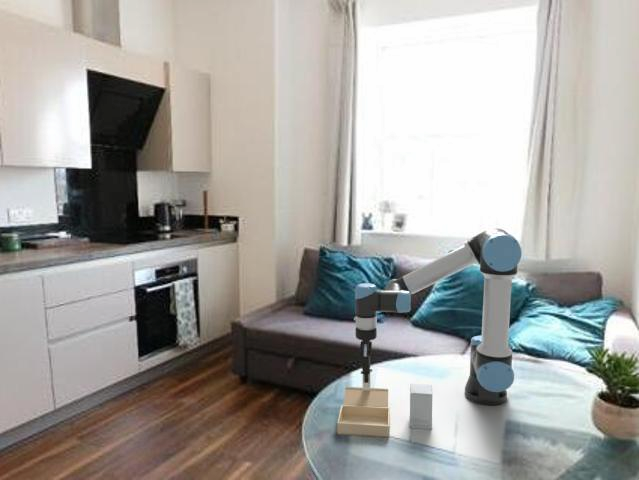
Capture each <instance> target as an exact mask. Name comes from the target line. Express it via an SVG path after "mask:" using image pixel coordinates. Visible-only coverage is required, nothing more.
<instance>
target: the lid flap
mask: <svg viewBox="0 0 639 480" xmlns="http://www.w3.org/2000/svg"><path fill="white" fill-rule="evenodd" d="M343 405H352V406H371V407H389V388H377V387H376V388H374V387H370V391H366V390H363V387H359V386H357V387H356V386H355V387H354V386H345V389H344V398H343Z"/></svg>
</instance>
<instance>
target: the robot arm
mask: <svg viewBox="0 0 639 480" xmlns="http://www.w3.org/2000/svg"><path fill="white" fill-rule="evenodd" d="M521 258H522V247H521V245H520V243H519V241H518V240H517V239H516V237H515V236H513V235H512V234H509V233H508V232H507V231H506V230H504V229H501V228H497V227H496V228H488V229H486V230H484V231H482V232H480V233H478V234H476V235H475V236H473V237H471V238H469V239H467V240H465V241H464V244H463V245H462V246H459V247H458V248H456V249H454V250H452V251H450V252H448V253H445V254H444V255H442V256H439V257H438V258H436V259H434V260H433V261H431V262H429V263H427V264H425V265H422V266H421V267H419V268H417V269H415V270H412V271H411V272H409V273H407V274H405V275H402V276H401V277H398V278H392V279H390V280H389V281H388V282H387V284H386V285H385V287H384V290H383V289H380V290H379V289H377V285H375V284H374V283H365V282H364V283H359V284H357V285H356V286H355V293H354V307H355V308H354V310H355V317H354V318H353V321H355V338H356V339H357V340H360V345H359V346H360V347H359V348H360V352H361V353H360V356H361V363H362V364H361V367H362V369H361V371H360V374H361V375H362V388H363V390H366V391H370V388H371V372H373V369H372V368H371V355H372V348H373V347H372V346H373V342H372V341H373V340H376V338H377V337H378V336H377V335H378V334H377V332H378V331H377V330H378V329H377V326H378V325H377V324H378V321H377V320H378V318H377V317H378V316H377V313H378V312H380V313H381V312H382V313H384V312H385V313H399V314H401V313H409V312H410V311H411V299H412V297H411V296H412V295H413V294H416V293H418V292H420V291H421V290H424V289H426V288H428V287H430V286H432V285H435V284H436V283H438V282H440V281H442V280H444V279H446V278H448V277H450V276H452V275H455V274H457V273H459V272H460V271H463V270H464V269H466V268H469V267H471V266H473V265H476V266H477V265H480V266H479V272H480V273H481V274H482V275H483V276H484V278H483V280H484V282H483V301H482V304H483V305H482V319H481V321H482V324H481V325H482V326H481V335H476V336H473V337H471V339H470V344H469V346H470V355H469V356H470V357H469V359H470V360H469V362H470V363H469V376H468V378H467V381H466V383H465V386H464V395H465V397H466V398H467V399H468V400H469V401H472V402H473V403H476V404H479V405H484V406H498V405H502V404H505V403H506V402H507V400H508V391H507V390H508V389H509V388H511V387H512V386H513V384H514V381H515V373H514V372H515V371H514V369H513V367H512V366H513V350H512V349H511V348H510V346H509V335H510V317H511V313H510V312H511V298H512V280H513V278H514V277H515V276H517V274H518V264H519V263H520V262H521Z"/></svg>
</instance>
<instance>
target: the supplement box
mask: <svg viewBox="0 0 639 480" xmlns="http://www.w3.org/2000/svg"><path fill="white" fill-rule="evenodd" d="M409 428H412V429H421V430H422V429H423V430H432V429H433V386H432V384H424V383H421V384H420V383H410V389H409Z"/></svg>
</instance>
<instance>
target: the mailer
mask: <svg viewBox="0 0 639 480" xmlns="http://www.w3.org/2000/svg"><path fill="white" fill-rule="evenodd" d="M390 425H391V407H390V406H388V407H371V406H352V405H344V404H341V405H340V410H339V414H338V419H337V423H336V426H337V435H341V436H343V435H344V436H345V435H346V436H357V437H358V436H359V437H360V436H361V437H373V438H376V437H377V438H390V431H391V430H390V428H391V426H390Z"/></svg>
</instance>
